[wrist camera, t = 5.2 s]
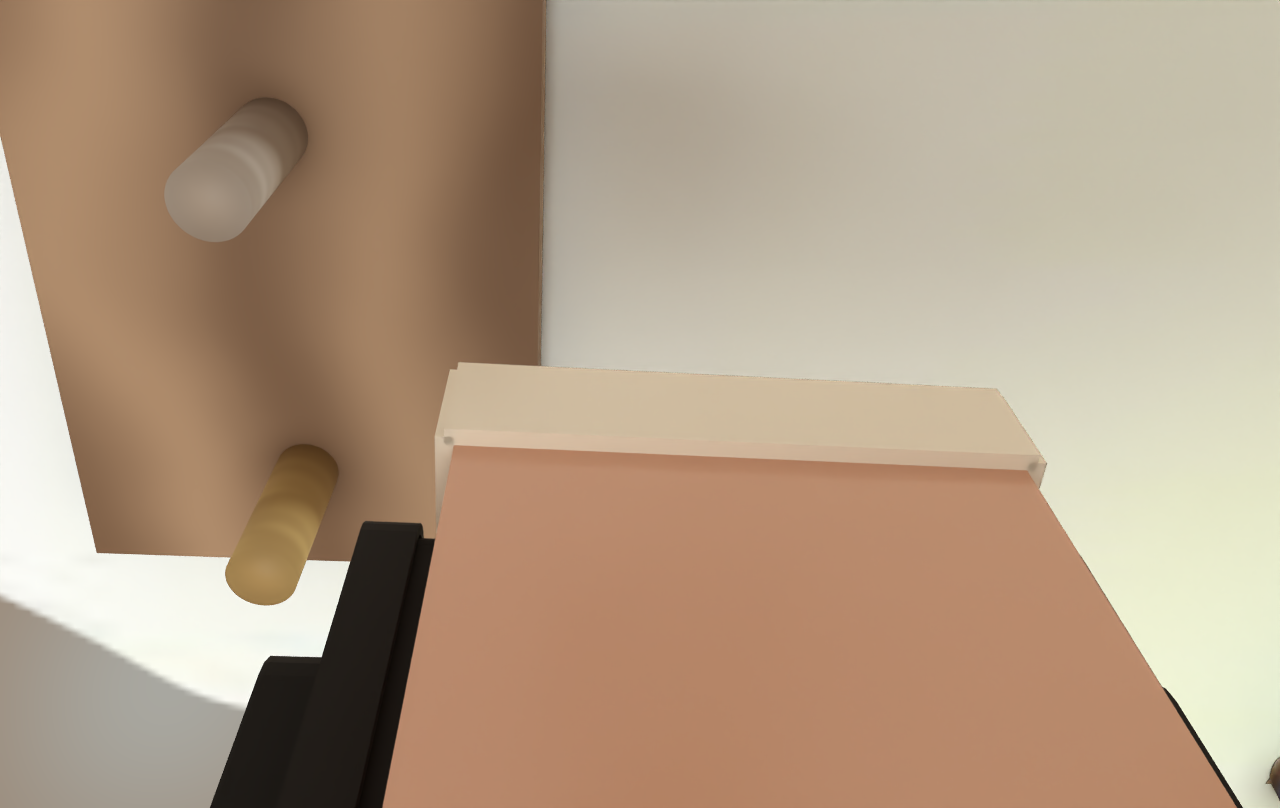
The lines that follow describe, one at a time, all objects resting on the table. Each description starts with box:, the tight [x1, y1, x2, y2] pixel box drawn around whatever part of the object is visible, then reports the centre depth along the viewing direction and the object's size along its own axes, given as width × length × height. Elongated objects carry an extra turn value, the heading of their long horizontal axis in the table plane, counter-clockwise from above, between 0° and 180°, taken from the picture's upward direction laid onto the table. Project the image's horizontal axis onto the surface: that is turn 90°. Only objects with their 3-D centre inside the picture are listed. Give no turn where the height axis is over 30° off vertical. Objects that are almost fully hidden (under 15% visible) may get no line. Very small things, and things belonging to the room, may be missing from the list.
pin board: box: [0, 0, 546, 605], centre depth 24 cm, size 12×24×6 cm, turn 177°
